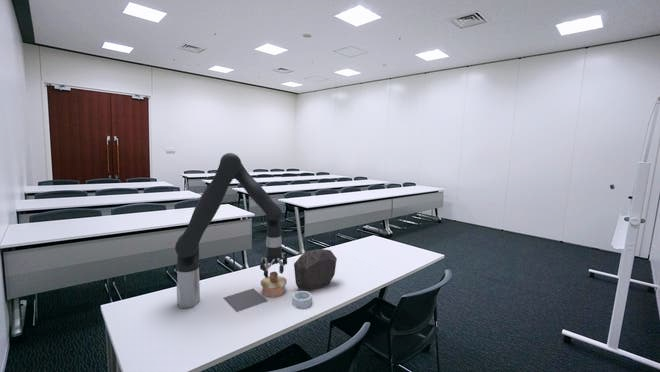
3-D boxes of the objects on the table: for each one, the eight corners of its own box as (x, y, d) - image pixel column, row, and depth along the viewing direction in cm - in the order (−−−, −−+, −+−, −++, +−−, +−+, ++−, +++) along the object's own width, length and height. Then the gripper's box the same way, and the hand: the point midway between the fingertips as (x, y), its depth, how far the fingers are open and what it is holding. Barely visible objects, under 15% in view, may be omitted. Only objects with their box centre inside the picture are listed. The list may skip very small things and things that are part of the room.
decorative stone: (299, 295, 156) (300, 257, 153) (291, 288, 163) (292, 251, 160) (339, 284, 169) (340, 249, 166) (330, 278, 176) (331, 244, 173)
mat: (236, 312, 139) (236, 312, 139) (222, 298, 151) (222, 297, 151) (268, 301, 149) (268, 301, 149) (253, 289, 161) (253, 288, 161)
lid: (268, 291, 149) (268, 280, 148) (256, 281, 159) (256, 271, 158) (291, 283, 157) (291, 274, 156) (278, 275, 167) (278, 265, 166)
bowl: (269, 299, 151) (269, 289, 150) (259, 290, 159) (259, 281, 159) (288, 292, 158) (288, 283, 157) (277, 284, 166) (277, 276, 166)
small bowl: (299, 310, 142) (299, 302, 141) (289, 302, 149) (289, 294, 148) (315, 304, 148) (315, 296, 147) (304, 296, 155) (304, 289, 154)
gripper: (264, 249, 148) (264, 281, 150) (290, 243, 157) (289, 274, 159) (257, 245, 153) (257, 276, 156) (282, 239, 162) (282, 269, 165)
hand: (273, 275), depth 157 cm, fingers open, 8 cm apart
